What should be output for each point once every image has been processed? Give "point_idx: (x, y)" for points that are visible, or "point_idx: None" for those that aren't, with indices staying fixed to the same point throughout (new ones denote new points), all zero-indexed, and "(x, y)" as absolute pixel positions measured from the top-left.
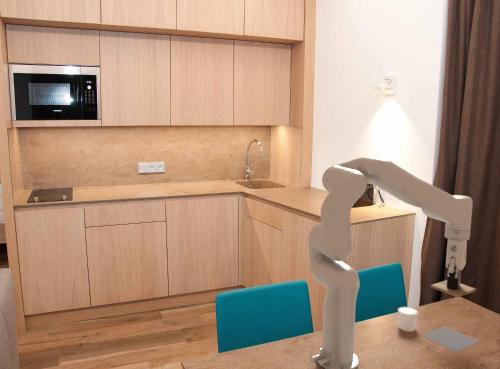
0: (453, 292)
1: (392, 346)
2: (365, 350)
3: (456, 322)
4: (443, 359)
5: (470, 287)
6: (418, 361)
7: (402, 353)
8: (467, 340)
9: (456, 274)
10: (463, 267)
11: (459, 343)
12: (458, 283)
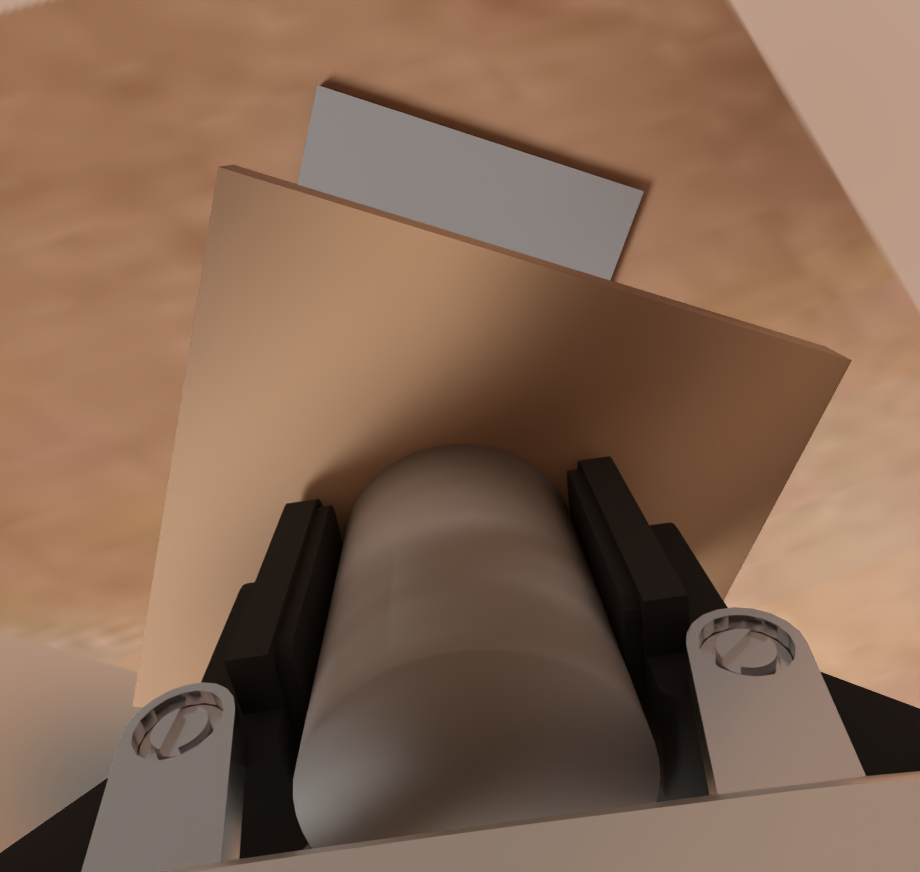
0: (752, 459)
1: (783, 551)
2: (915, 635)
3: (87, 363)
4: (782, 235)
5: (233, 295)
6: (899, 359)
7: (843, 474)
8: (376, 178)
9: (837, 716)
10: (651, 825)
11: (477, 215)
12: (526, 511)
